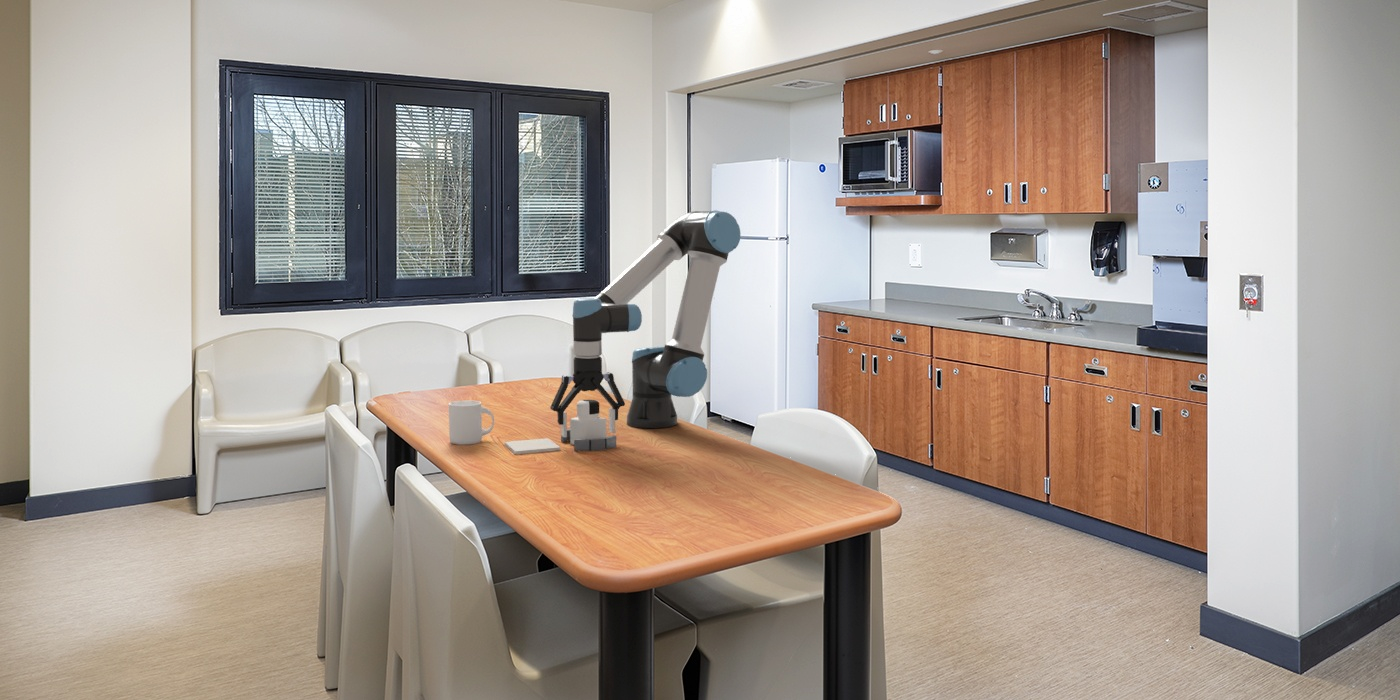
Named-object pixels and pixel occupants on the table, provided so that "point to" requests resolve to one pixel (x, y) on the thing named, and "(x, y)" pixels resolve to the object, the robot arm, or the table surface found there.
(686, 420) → the table surface
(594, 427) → the medicine bottle
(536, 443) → the tile
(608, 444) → the cradle
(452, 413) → the mug
